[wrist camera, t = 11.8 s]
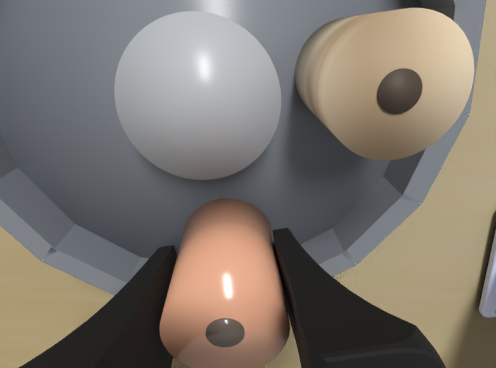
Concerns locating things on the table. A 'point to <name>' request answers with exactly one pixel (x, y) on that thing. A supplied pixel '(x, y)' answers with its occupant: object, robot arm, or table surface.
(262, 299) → the terracotta bead
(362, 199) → the groove tray
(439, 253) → the table surface
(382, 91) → the birch bead
